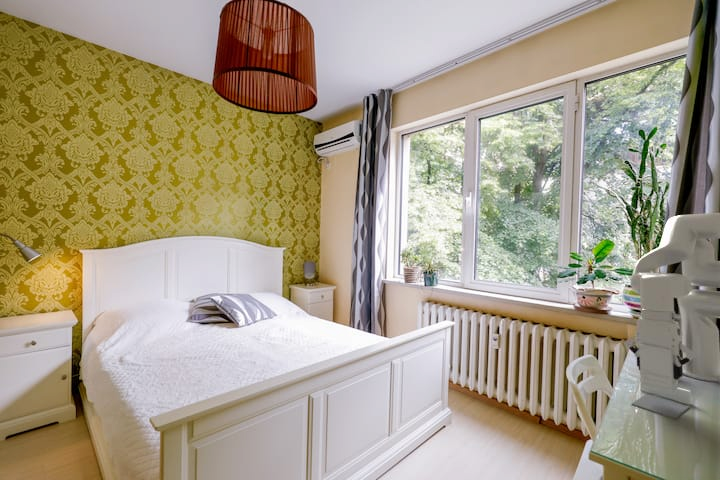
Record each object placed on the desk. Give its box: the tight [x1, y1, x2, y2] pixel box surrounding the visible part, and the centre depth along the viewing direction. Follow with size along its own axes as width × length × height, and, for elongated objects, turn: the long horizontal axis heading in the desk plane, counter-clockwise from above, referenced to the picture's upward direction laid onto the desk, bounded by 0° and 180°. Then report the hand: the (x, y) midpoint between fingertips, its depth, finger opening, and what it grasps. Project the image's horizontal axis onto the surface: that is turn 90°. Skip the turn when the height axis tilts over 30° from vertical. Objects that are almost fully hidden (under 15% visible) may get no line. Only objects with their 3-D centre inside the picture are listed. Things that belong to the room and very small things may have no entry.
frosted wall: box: [639, 377, 692, 406], centre depth 105 cm, size 1×12×4 cm, turn 31°
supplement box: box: [638, 344, 679, 393], centre depth 99 cm, size 7×7×13 cm
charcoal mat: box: [631, 393, 690, 420], centre depth 99 cm, size 12×10×1 cm
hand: (658, 373), depth 99 cm, fingers closed on supplement box, 7 cm apart
